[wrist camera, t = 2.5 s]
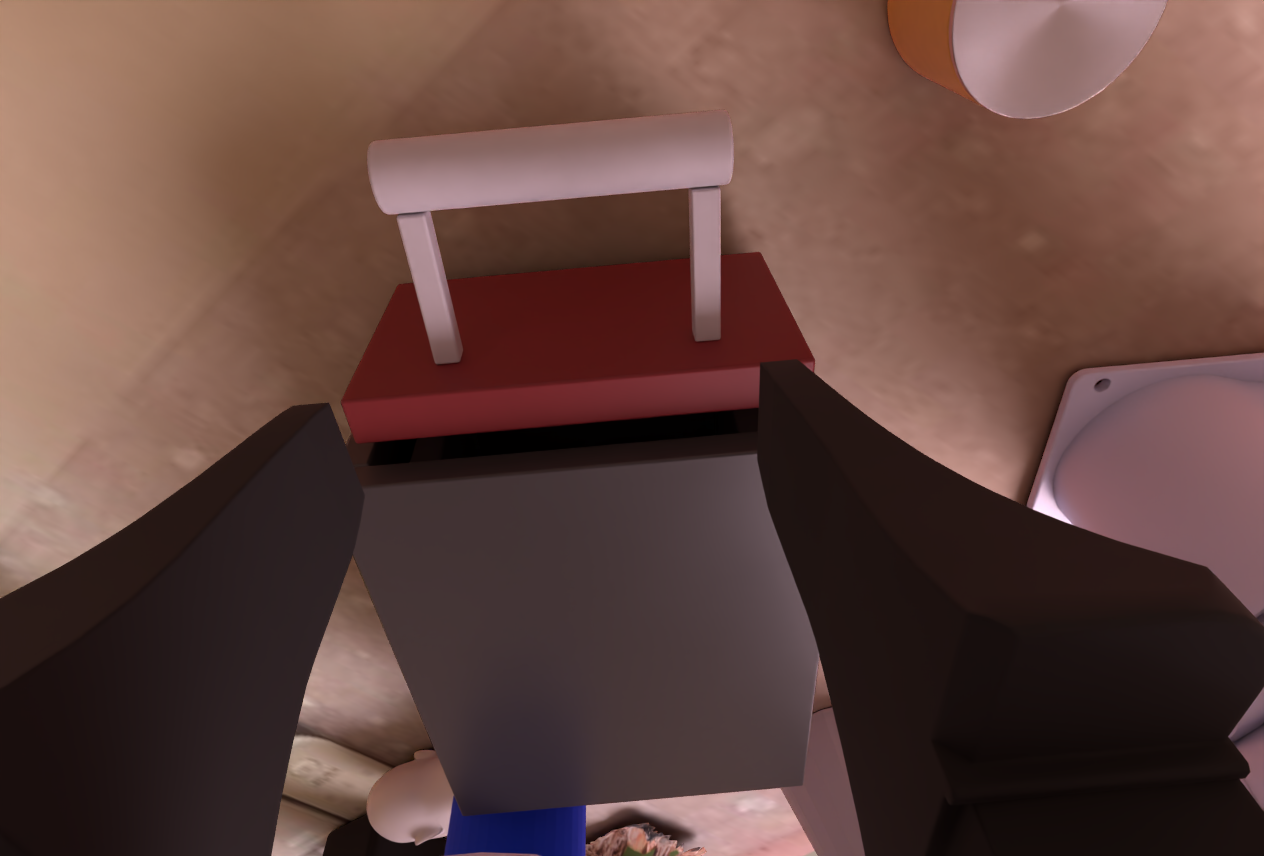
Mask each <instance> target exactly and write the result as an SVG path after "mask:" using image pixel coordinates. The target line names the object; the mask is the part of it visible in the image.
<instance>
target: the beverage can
mask: <svg viewBox="0 0 1264 856" xmlns="http://www.w3.org/2000/svg"><path fill="white" fill-rule="evenodd" d="M480 852H485V853H516V854H537V855H540V856H586V805H583V806H572V807H561V808H550V809H539V810H528V811H517V812H506V813H495V814H484V815H473V816H462V813H461V811H460V809H459V806H458V804H457V802H456V799H455V797H454V796H453V802H452V808H451V815H450V821H449V828H448V834H447V840H446V847H445V853H444V856H447V855H458V854H469V853H480Z"/></svg>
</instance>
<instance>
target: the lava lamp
mask: <svg viewBox="0 0 1264 856" xmlns="http://www.w3.org/2000/svg"><path fill="white" fill-rule="evenodd" d="M781 790H782V791H783V793H784V795H785V797H786V799H787V801H788V802H789V804H790V806H791V808H792V810H793V811H794V813H795V815H796V817H797V819H798V821H799V822H800V824H801V826H802V828H803V830H804V831H805V833H806V835H807V837H808V839H809V841H810V842H811V844H812V846H813V848H814V850H815V851H816V853H817V855H818V856H865V852H864V848H863V843H862V838H861V833H860V828H859V823H858V818H857V814H856V809H855V805H854V800H853V796H852V791H851V787H850V782H849V777H848V773H847V768H846V764H845V759H844V755H843V750H842V746H841V742H840V738H839V734H838V729H837V725H836V721H835V717H834V713H833V708H832V707H831V708H827V709H823V710H820V711H818V712H816V713H814V714H812V720H811V728H810V735H809V743H808V751H807V759H806V767H805V774H804V782H803V785H802V786H794V787H783V788H781Z"/></svg>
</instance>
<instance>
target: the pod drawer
mask: <svg viewBox="0 0 1264 856" xmlns="http://www.w3.org/2000/svg"><path fill="white" fill-rule="evenodd" d="M367 166H368V175H369V180H370V185H371V188H372V192H373V195H374V197H375V200H376V202H377V204H378V206H379V208H380V209H381V210H382V212H384V213H386V214H389V215H391V214H398V216H397V223H398V227H399V231H400V234H401V238H402V242H403V246H404V249H405V253H406V257H407V260H408V264H409V268H410V272H411V275H412V279H413V283H405V284H399V285H398V286H397V288H396V290H395V292H394V294H393V296H392V298H391V300H390V302H389V304H388V306H387V308H386V310H385V312H384V314H383V316H382V318H381V320H380V322H379V324H378V326H377V328H376V330H375V332H374V334H373V336H372V339H371V341H370V343H369V345H368V347H367V349H366V351H365V353H364V355H363V357H362V359H361V361H360V363H359V365H358V367H357V369H356V371H355V373H354V375H353V377H352V379H351V381H350V383H349V385H348V387H347V390H346V392H345V394H344V396H343V398H342V400H341V405H342V408H343V410H344V413H345V416H346V418H347V421H348V424H349V427H350V429H351V432H352V435H353V437H354V440H355V442H356V443H358V444H360V443H372V442H383V441H394V440H405V439H416V438H417V440H416V443H415V447H414V450H413V453H412V456H411V459H410V462H422V461H433V460H444V459H455V458H466V457H477V456H489V455H500V454H511V453H522V452H533V451H544V450H556V449H567V448H578V447H589V446H600V445H612V444H623V443H634V442H645V441H656V440H667V439H679V438H690V437H701V436H712V435H723V434H734V433H746V432H757V431H758V414H759V382H760V362H770V361H781V360H792V359H797V360H799V361H800V362H801V363H803V364H804V365H805V366H806V367H807V368H809V369H810V370H811V371H812V372H813V373H814V367H815V359H814V357H813V355H812V353H811V351H810V349H809V347H808V345H807V343H806V341H805V339H804V337H803V335H802V333H801V331H800V329H799V327H798V325H797V323H796V321H795V319H794V317H793V315H792V313H791V312H790V310H789V308H788V306H787V304H786V302H785V300H784V298H783V296H782V294H781V292H780V290H779V288H778V286H777V284H776V282H775V280H774V278H773V276H772V274H771V272H770V270H769V268H768V266H767V264H766V262H765V260H764V258H763V256H762V254H761V253H760V252H753V253H742V254H730V255H721V190H720V187H719V185H726V184H728V183H730V181H731V178H732V174H733V166H734V141H733V130H732V123H731V119H730V116H729V113H728V111H726V110H713V111H702V112H690V113H679V114H668V115H657V116H645V117H634V118H623V119H612V120H600V121H589V122H578V123H567V124H555V125H544V126H533V127H522V128H510V129H499V130H488V131H477V132H465V133H454V134H443V135H432V136H420V137H409V138H398V139H387V140H376V141H373V142H372V143H370V145H369V148H368V154H367ZM683 188H688V192H689V230H690V258H685V259H674V260H663V261H652V262H641V263H629V264H618V265H607V266H596V267H585V268H573V269H562V270H551V271H540V272H529V273H517V274H506V275H495V276H484V277H472V278H461V279H450V280H447V279H446V275H445V271H444V267H443V263H442V258H441V254H440V250H439V246H438V242H437V237H436V233H435V229H434V225H433V221H432V216H431V212H430V211H436V210H447V209H458V208H469V207H480V206H492V205H503V204H514V203H525V202H537V201H548V200H559V199H570V198H581V197H593V196H604V195H615V194H626V193H638V192H649V191H660V190H671V189H683Z"/></svg>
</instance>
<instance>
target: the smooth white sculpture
mask: <svg viewBox="0 0 1264 856" xmlns="http://www.w3.org/2000/svg"><path fill="white" fill-rule="evenodd" d="M414 758H415V760H413V761H410V762H407V763H404V764H401V765H399V766H397V767H395V768H393V769H391V770H389V771H388V772H387V773H385V774H384V775H383V776H382V777H381V778H380V779H379V780H378V781H377V782H376V783H375V784H374V786H373V787H372V789H371V791H370V793H369V796H368V800H367V815H368V819H369V822H370V824H371V826H372V827H373V828H374V829H375V831H376V832H377V833H379V834H380V835H381V836H383V837H384V838H386V839H388V840H391V841H393V842H398V843H407V842H413V841H415V845H419V844H421V843H423V842H425V841H427V840H429V839H434V838H440V837H445V836H447V834H448V828H449V821H450V815H451V808H452V802H453V796H454V794H453V792H452V790H451V787H450V785H449V783H448V780H447V778H446V776H445V773H444V771H443V768H442V766H441V764H440V761H439V759H438V757H437V754H436V752H435V751H434V750H419V751H416V752H415V753H414Z"/></svg>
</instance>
